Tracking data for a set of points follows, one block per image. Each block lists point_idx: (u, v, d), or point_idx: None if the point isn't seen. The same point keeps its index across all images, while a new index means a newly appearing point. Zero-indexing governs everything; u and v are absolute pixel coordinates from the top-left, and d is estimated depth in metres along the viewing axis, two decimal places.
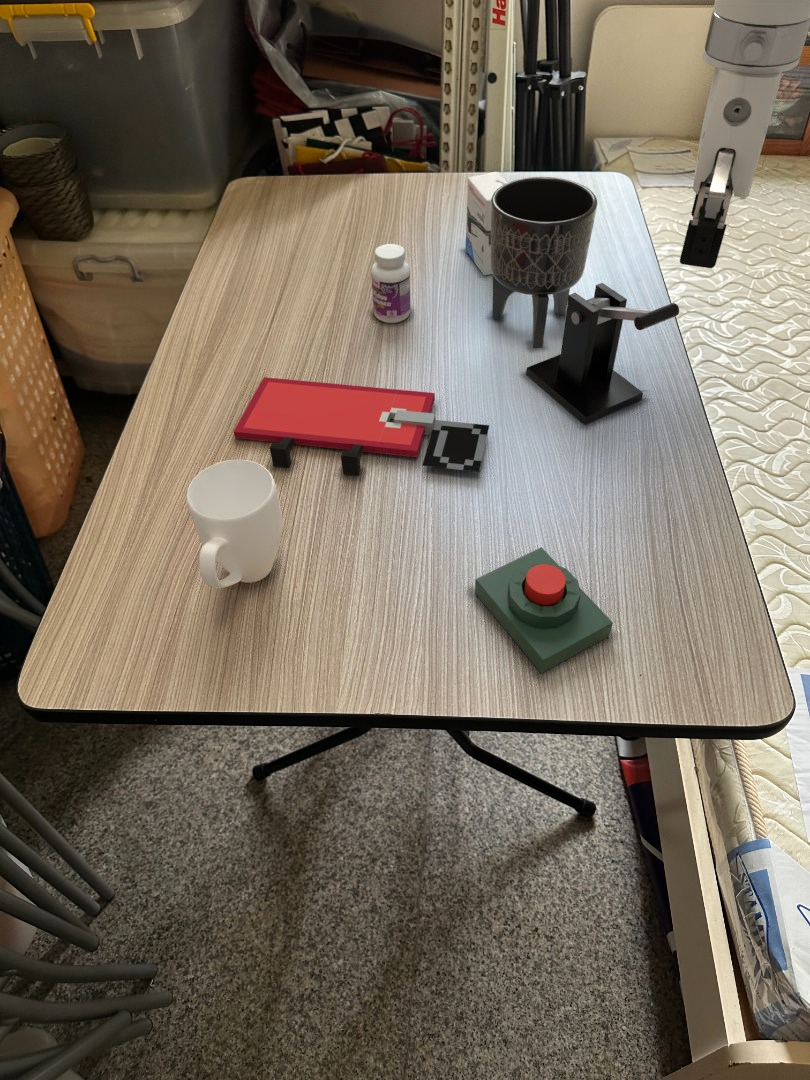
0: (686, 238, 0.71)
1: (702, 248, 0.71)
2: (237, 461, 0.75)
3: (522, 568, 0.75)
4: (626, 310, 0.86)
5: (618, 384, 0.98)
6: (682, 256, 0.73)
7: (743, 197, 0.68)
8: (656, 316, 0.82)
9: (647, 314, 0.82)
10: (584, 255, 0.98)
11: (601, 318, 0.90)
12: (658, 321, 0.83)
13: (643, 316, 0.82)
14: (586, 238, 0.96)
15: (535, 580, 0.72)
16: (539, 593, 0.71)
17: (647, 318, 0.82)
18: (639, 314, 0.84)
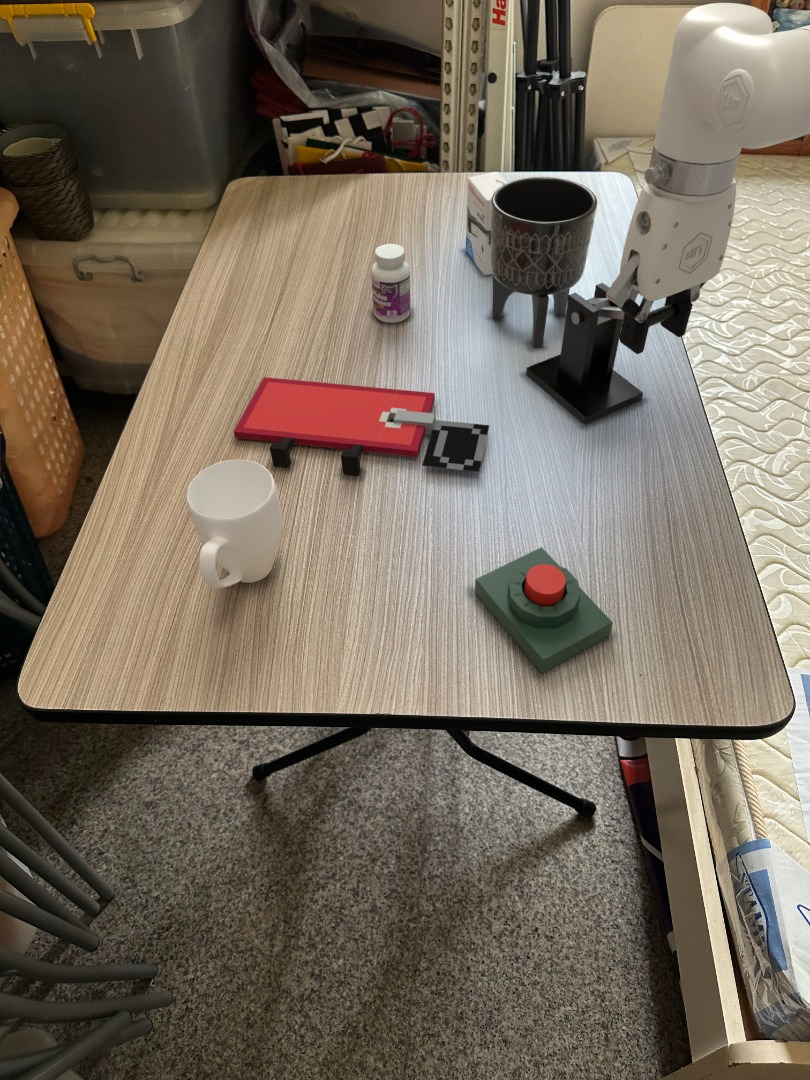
0: (623, 321, 0.83)
1: (627, 333, 0.82)
2: (237, 461, 0.75)
3: (522, 568, 0.75)
4: None
5: (618, 384, 0.98)
6: (621, 335, 0.84)
7: (646, 298, 0.76)
8: (656, 316, 0.82)
9: None
10: (584, 255, 0.98)
11: (601, 318, 0.90)
12: (658, 321, 0.83)
13: None
14: (586, 238, 0.96)
15: (535, 580, 0.72)
16: (539, 593, 0.71)
17: (647, 318, 0.82)
18: None
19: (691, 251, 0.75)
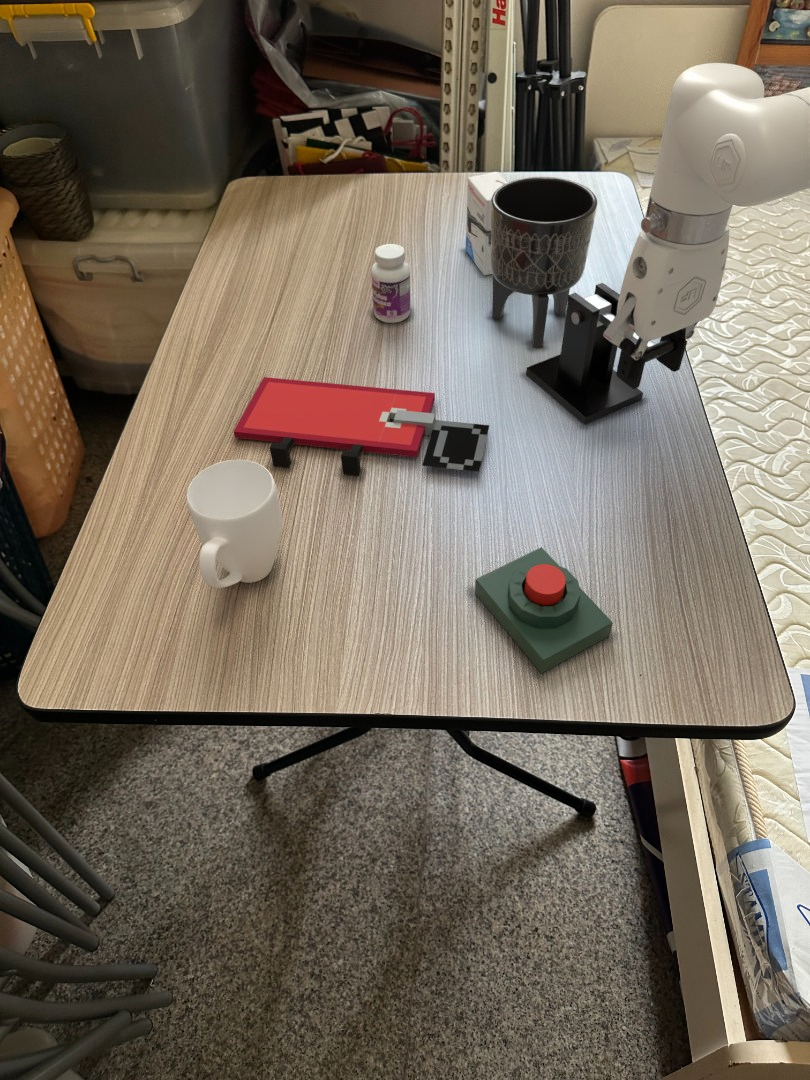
0: (620, 357, 0.86)
1: (624, 369, 0.85)
2: (237, 461, 0.75)
3: (522, 568, 0.75)
4: None
5: (618, 384, 0.98)
6: (617, 370, 0.87)
7: (642, 338, 0.79)
8: (655, 354, 0.85)
9: (647, 351, 0.84)
10: (584, 255, 0.98)
11: (599, 322, 0.91)
12: None
13: (643, 353, 0.84)
14: (586, 238, 0.96)
15: (535, 580, 0.72)
16: (539, 593, 0.71)
17: (646, 356, 0.84)
18: None
19: (686, 294, 0.78)
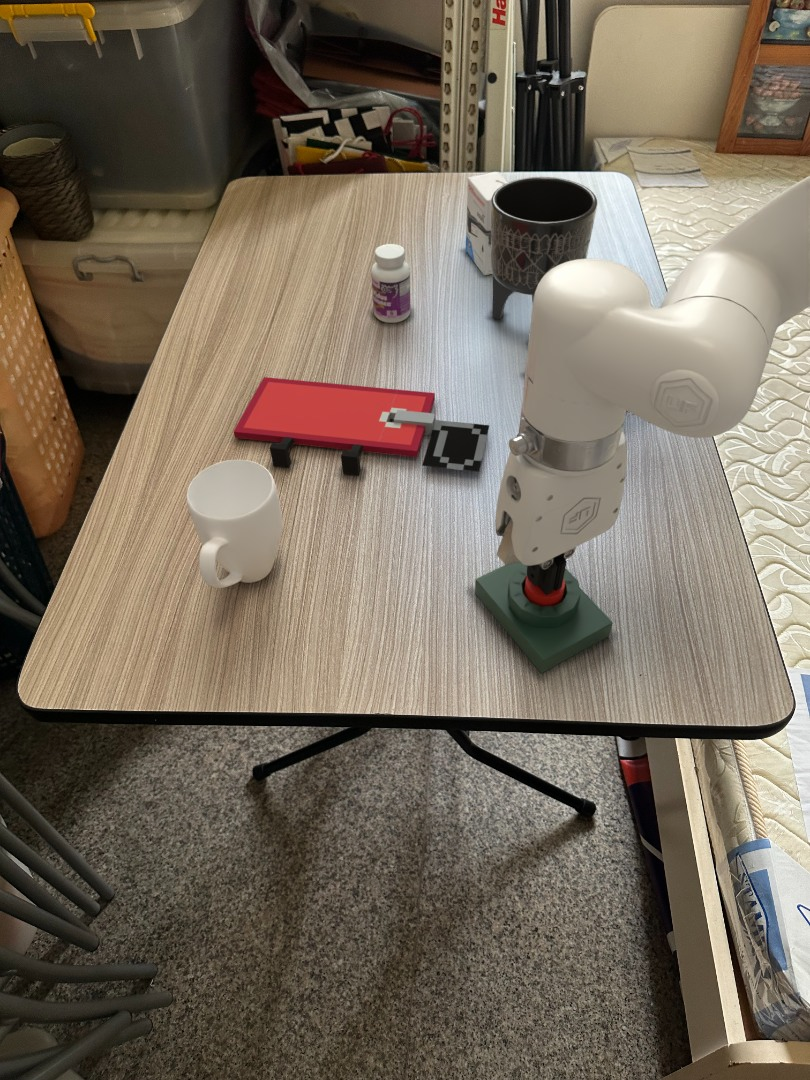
0: None
1: (533, 574, 0.70)
2: (237, 461, 0.75)
3: (522, 568, 0.75)
4: None
5: None
6: None
7: (524, 564, 0.64)
8: None
9: None
10: (584, 255, 0.98)
11: None
12: None
13: None
14: (586, 238, 0.96)
15: None
16: (539, 596, 0.71)
17: None
18: None
19: (575, 515, 0.62)
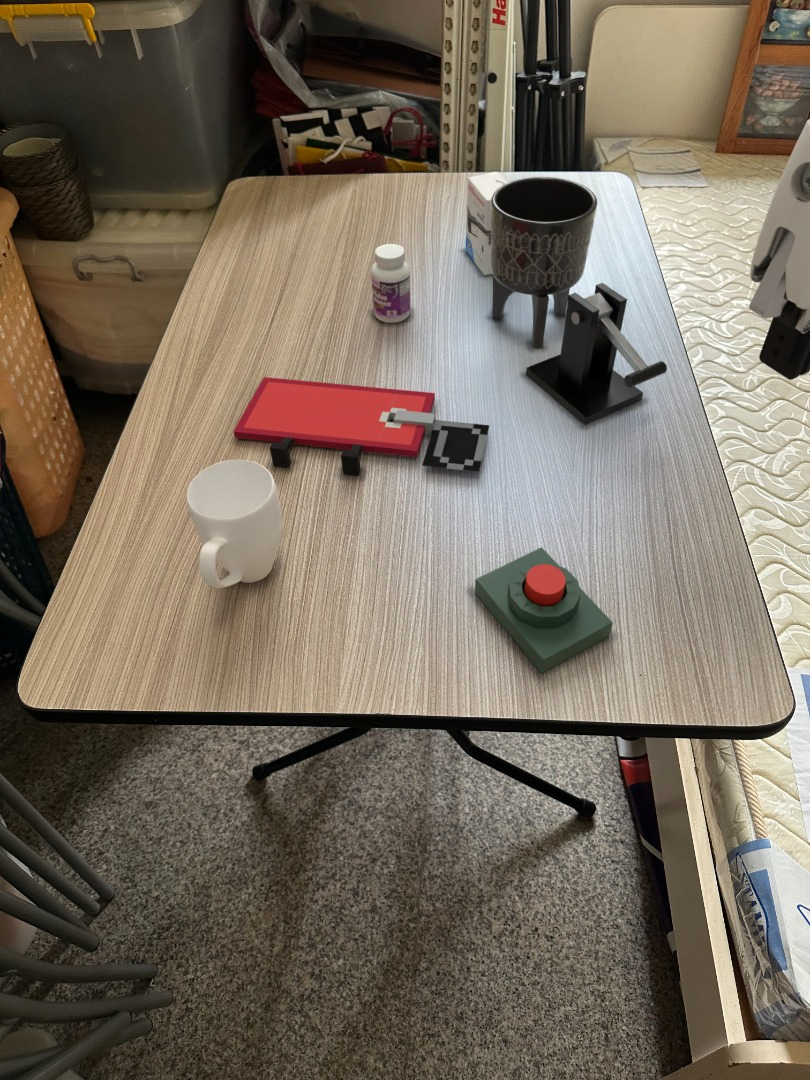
0: (770, 330, 0.56)
1: (778, 349, 0.55)
2: (237, 461, 0.75)
3: (522, 568, 0.75)
4: (623, 344, 0.89)
5: (618, 384, 0.98)
6: (762, 351, 0.57)
7: (798, 305, 0.48)
8: (645, 379, 0.87)
9: (639, 376, 0.87)
10: (584, 255, 0.98)
11: (597, 324, 0.91)
12: (644, 381, 0.88)
13: (635, 378, 0.87)
14: (586, 238, 0.96)
15: (535, 580, 0.72)
16: (539, 593, 0.71)
17: (637, 381, 0.87)
18: (632, 361, 0.88)
19: None
